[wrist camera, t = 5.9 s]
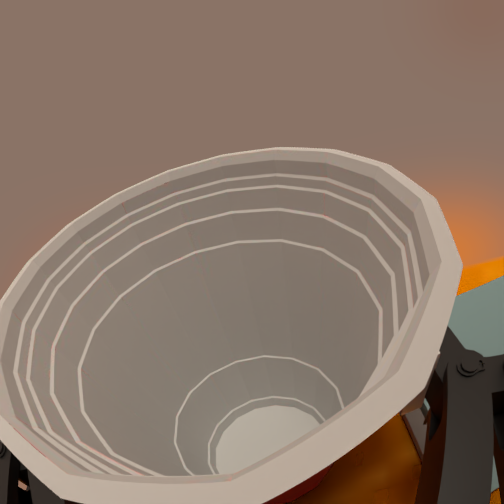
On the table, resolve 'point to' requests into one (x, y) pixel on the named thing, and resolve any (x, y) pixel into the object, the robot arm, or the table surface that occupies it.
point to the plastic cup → (225, 329)
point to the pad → (479, 328)
